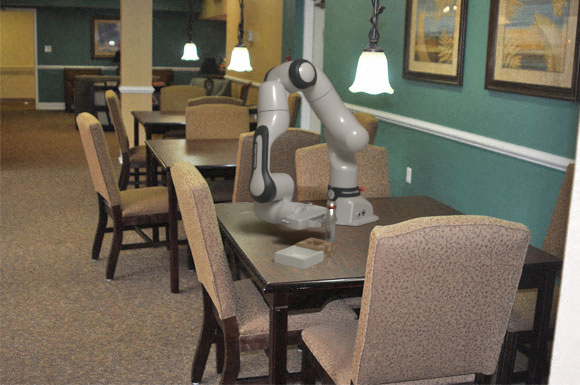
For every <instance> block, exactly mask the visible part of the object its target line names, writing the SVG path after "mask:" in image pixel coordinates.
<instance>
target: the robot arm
mask: <svg viewBox="0 0 580 385" xmlns="http://www.w3.org/2000/svg"><path fill="white" fill-rule="evenodd" d="M297 92H301V93H302V94H303V96H304V99H306V102H307V104H308V105H309V106H310V109H311V110H312V111H313V112H314V115H315V116H316V118H317V119H318V120H319V122H321V123H322V125H324V129H323V137H324V139H325V142H326V147H327V154H328V160H329V174H328V175H329V178H328V184H327V192H326V194H327V201H335V202H337V203H336V204H337V206H336V224H335V225H337V226H351V227H352V226H353V227H359V226H362V225H366V224H369V223H373V222H374V223H375V222H377V220H378V221H379V220H380V217H379V216H378V215H376V214H374V208H373V205H372V203H371V202H370V201H369V200H367V199H366V198H365V197H364V196H363V195H362V194H361V192H362V193H365V192H366V190H367V188H366V187H365V186H363V185H360V186H359V185H358V183H359V182H358V181H359V163H358V161H357V157H356V153H358V152H362V151H363V150H365V149H366V148H367V146H369V142H370V136H369V132H368V131H367V129H366V128H365V127H364V126H363V125H362V124H361V123H360V122H359V120H358V119H357V118H356V117H355V115H354V114H353V113H352V111H351V110H350V109H349V108H348V107H347V106H346V104H345V103H344V102H343V100H342V99H341V96H340V95H339V93H338V92H337V90H336V89H335V87H334V85H333V83H332V82H331V80H330V79H329V77H328V76H327V75H326V74H325V72H324V71H323V70H322V69H321V68H320V67H319V66H317V65H314V64H313V63H312V62H311V61H309V59H304V58H296V59H293V60H288V61H285V62H283V63H281V64H279V65H277V66H274V67H272V68H270V69H268V70H267V71H266V73H265V75H264V77H263V82H262V83H261V84H260V85H259V87H258V91H257V101H256V102H257V104H256V105H257V106H256V109H257V111H256V112H257V123H256V124H257V126H256V128H255V130H254V132H253V137H252V149H251V150H252V152H251V153H252V154H251V155H252V156H251V158H252V159H251V173H250V178H249V181H248V193H249V195H250V197H251V198H252V199H253V200H254V203H253V212H254V214H255V217H257V218H258V219H259V220H261V221H263V222H265V223H269V224H274V225H281V226H283V227H286V228H289V229H291V230H292V229H293V230H295V231H302V230H306V229H309V228H319V229H320V228H322V227H323V225H324V224H323V223H326V209H327V208H326V207H325V206H320V205H316V204H313V203H312V202H308V201H307V202H297V201H296V202H295V201H293V199H294V198H293V197H294V193H295V187H296V186H295V181H294V179H293V178H292V176H291V175H290V174H288V173H286V172H273V173H272V172H271V169H270V168H271V166H270V165H271V147H272V145H273V144H274V142H276V141H277V140H278V139H280V138H281V137H283V136H284V135H285V134H286V133H287V131H288V130H289V127H290V118H291V117H290V109H289V108H290V106H289V95H292V94H295V93H297Z"/></svg>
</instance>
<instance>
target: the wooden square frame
mask: <svg viewBox="0 0 580 385" xmlns="http://www.w3.org/2000/svg"><path fill="white" fill-rule="evenodd" d="M295 245H296V246H297V247H302V248H306V249H310V250H314V251H319V252H320V251H323V252H324V257H323V260H325V259H327V258H330V257H331V256H334V254H335V245H334V242H329V241H325V239H319V238H314V237H309V238H307V239H304V240H301V241H299V242H296V243H295Z"/></svg>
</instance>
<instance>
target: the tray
mask: <svg viewBox="0 0 580 385" xmlns="http://www.w3.org/2000/svg"><path fill="white" fill-rule="evenodd" d="M323 257H324V252H323V251H320V252H319V251H314V250H310V249H306V248H302V247H297V246H296V244H293V245H291V246H287V247H286V248H283V249H280V250H278V251H276V252H274V260H273V261H274V263H276V264H280V265H283V266H288V267H292V268H296V269H299V270H303V271H304V270H306V269H308V268H311V267H313V266H315V265H317V264H320V263H323V262H324V259H323Z"/></svg>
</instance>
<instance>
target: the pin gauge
mask: <svg viewBox="0 0 580 385" xmlns="http://www.w3.org/2000/svg"><path fill="white" fill-rule="evenodd" d="M336 203H337V202H335V201H328V200H327V201H326V207H325V208H327V209H326V222H325V232H324V233H325V234H324V240H325V241H329V242H334V246H335V243H336V225H337V224H336V206H337V204H336Z"/></svg>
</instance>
